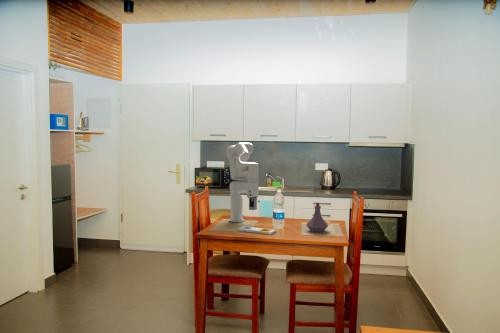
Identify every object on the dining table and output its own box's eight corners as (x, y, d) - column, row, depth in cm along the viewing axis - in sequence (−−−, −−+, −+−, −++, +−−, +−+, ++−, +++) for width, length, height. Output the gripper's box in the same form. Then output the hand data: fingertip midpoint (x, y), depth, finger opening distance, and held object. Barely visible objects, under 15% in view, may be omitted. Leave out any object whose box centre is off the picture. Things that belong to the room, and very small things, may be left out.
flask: (302, 228, 289) (303, 201, 288) (324, 228, 292) (325, 201, 290) (309, 233, 273) (309, 205, 272) (332, 233, 275) (332, 204, 274)
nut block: (251, 208, 281) (251, 197, 281) (256, 209, 279) (256, 198, 279) (249, 209, 278) (249, 198, 277) (254, 210, 276) (254, 198, 275)
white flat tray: (243, 228, 288) (243, 225, 288) (276, 232, 277) (276, 229, 276) (237, 230, 280) (237, 228, 280) (270, 234, 268) (270, 232, 268)
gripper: (253, 179, 286) (253, 204, 287) (242, 181, 272) (242, 207, 273) (263, 179, 283) (262, 205, 284) (252, 181, 268) (252, 208, 269)
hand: (252, 206), depth 278 cm, fingers closed on nut block, 4 cm apart
